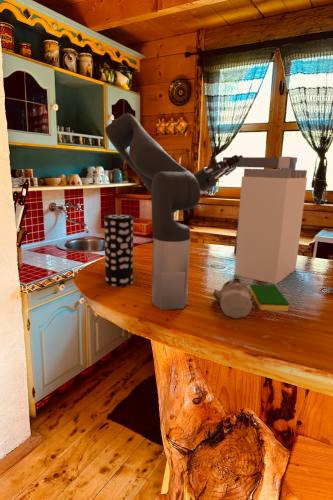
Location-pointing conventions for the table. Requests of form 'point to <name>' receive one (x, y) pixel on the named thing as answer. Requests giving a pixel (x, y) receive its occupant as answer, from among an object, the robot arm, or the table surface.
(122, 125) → the robot arm
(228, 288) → the ceramic sculpture
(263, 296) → the dish sponge
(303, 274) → the table surface
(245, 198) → the stand
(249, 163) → the grey rectangular bar
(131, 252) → the white-spotted black cylinder
